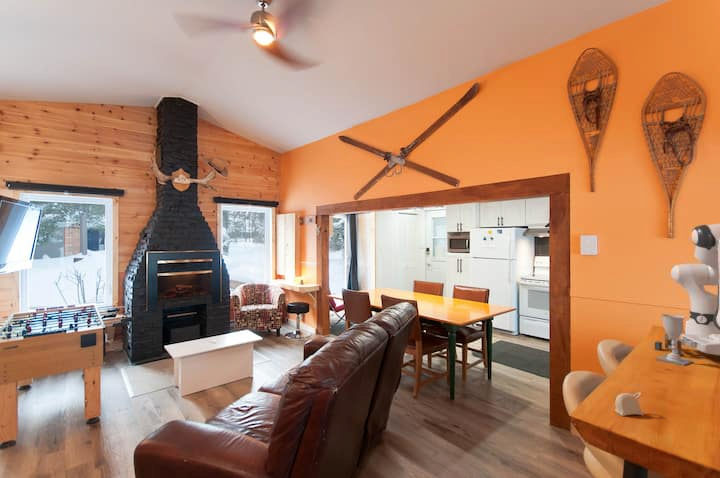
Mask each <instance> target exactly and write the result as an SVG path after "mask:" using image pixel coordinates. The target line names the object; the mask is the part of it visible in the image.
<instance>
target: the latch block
mask: <svg viewBox="0 0 720 478" xmlns="http://www.w3.org/2000/svg"><path fill="white" fill-rule="evenodd" d="M654 350H655V351H662V350H663V342H662V341H658V340H656V341H654Z"/></svg>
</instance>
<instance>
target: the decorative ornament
mask: <svg viewBox="0 0 720 478" xmlns="http://www.w3.org/2000/svg"><path fill="white" fill-rule="evenodd" d="M641 397H642V393H641V392H636V393H634V394H631V393H627V392H626V393H623V392H622V393H620V394H618V395H617V396H616V398H615V402H614V404H615V409H614V411H615V412H616V413H617V414H618V415H620V416H621V417H625V416H630V415H640V416H645V414H643V412H642V409H641V405H640V403H639V399H640V398H641Z"/></svg>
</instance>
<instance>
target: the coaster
mask: <svg viewBox="0 0 720 478" xmlns="http://www.w3.org/2000/svg"><path fill="white" fill-rule="evenodd" d="M667 356H668V354H663V355H660V356H658V357H655V361H661V362H665V363H670V364H674V365H678V366H682V367H683V366H684V367H685V366H687V365H690V364H691V363H693V362H694V361H693V360H692V359H686V358H682V357H681V359H682V361H672V360H668V359H666V357H667Z"/></svg>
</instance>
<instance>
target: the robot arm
mask: <svg viewBox="0 0 720 478" xmlns="http://www.w3.org/2000/svg"><path fill="white" fill-rule="evenodd" d="M691 231H692V232H691V240H692V243H693V245H695V248H694V252H693V253H694V254H693V256H694V258H695V260H696V261H698V262H699V263H681V264H675V265H674V266H673V267H672V269H671V270H670V276H671V279H672V280H673V281H674V282H675V283H677V284H679V285H680V286H681V287H683V289H684V290H685V291H686V292H687V294H688V297H689V302H690V303H689V304H690V310H689V319H688V320H686V322H685V333H681V335H680V336H679V338H677V340H679V341H681V346H687V347H692V348H693V349H695V350H698V351H700V352H702V353H703V354H704V353H705V354H709V355H714V356H720V223H713V224H701V225H698V226H694V228H693V229H692V230H691ZM705 286H713V287H715V286H717V294H715V293H713V292H710V291H708V290H706V288H705Z"/></svg>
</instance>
